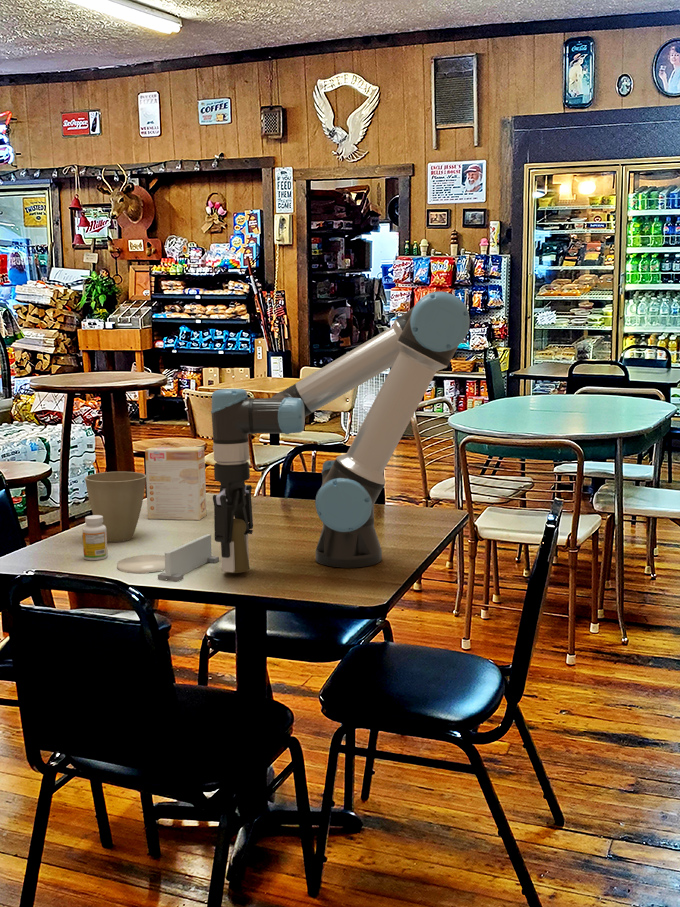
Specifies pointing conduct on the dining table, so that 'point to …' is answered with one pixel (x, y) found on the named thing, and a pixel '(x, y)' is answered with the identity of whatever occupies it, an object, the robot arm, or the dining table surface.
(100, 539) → the supplement bottle
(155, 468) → the coffeecake box
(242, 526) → the brown pawn
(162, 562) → the ceramic saucer
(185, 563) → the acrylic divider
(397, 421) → the robot arm
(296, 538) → the dining table surface
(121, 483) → the plant pot
